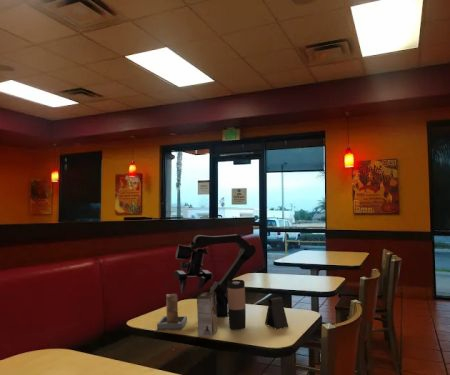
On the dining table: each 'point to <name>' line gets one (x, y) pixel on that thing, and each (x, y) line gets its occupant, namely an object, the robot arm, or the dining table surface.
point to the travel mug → (236, 304)
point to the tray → (172, 324)
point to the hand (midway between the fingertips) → (190, 291)
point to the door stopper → (276, 313)
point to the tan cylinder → (172, 308)
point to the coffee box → (207, 314)
